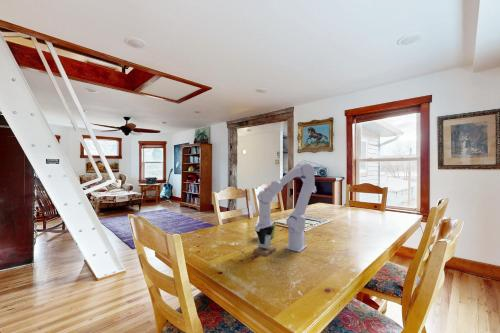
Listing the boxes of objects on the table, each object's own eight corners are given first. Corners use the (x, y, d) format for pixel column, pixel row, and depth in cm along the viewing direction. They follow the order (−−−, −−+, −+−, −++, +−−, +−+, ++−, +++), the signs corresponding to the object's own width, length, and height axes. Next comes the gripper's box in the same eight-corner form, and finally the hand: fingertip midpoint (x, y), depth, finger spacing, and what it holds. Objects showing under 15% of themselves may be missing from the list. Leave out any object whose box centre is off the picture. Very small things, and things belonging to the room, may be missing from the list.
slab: (262, 248, 120) (262, 244, 119) (275, 251, 115) (275, 247, 115) (253, 253, 113) (253, 249, 113) (267, 257, 108) (267, 253, 108)
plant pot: (274, 241, 129) (274, 225, 129) (258, 239, 132) (258, 224, 132) (278, 236, 138) (278, 221, 138) (263, 234, 141) (262, 220, 141)
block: (263, 243, 117) (262, 233, 117) (270, 245, 114) (270, 235, 114) (257, 245, 114) (257, 235, 113) (265, 247, 111) (265, 237, 111)
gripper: (265, 211, 122) (265, 236, 122) (249, 216, 110) (249, 244, 110) (277, 213, 118) (277, 239, 118) (261, 218, 106) (262, 247, 106)
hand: (264, 242), depth 114 cm, fingers closed on block, 4 cm apart
